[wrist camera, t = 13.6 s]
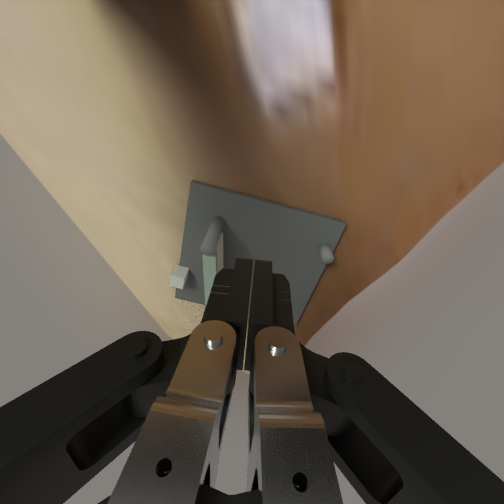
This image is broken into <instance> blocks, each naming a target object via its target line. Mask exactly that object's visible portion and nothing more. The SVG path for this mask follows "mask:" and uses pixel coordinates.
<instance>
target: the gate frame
mask: <svg viewBox="0 0 504 504" xmlns="http://www.w3.org/2000/svg"><path fill="white" fill-rule="evenodd" d="M346 225H347V223H346V222H345V221H342V220H338V219H335V218H331V217H327V216H324V215H320V214H316V213H313V212H309V211H305V210H302V209H298V208H294V207H291V206H287V205H283V204H280V203H276V202H272V201H269V200H265V199H261V198H257V197H254V196H250V195H246V194H243V193H239V192H235V191H232V190H228V189H224V188H221V187H217V186H213V185H210V184H206V183H202V182H199V181H195V180H192V181H191V186H190V193H189V200H188V207H187V215H186V222H185V229H184V237H183V244H182V251H181V258H180V266H179V265H175V267H174V268H173V270H172V272H171V274H170V279H169V286H171V287H175V288H176V295H175V298H178V299H183V300H187V301H191V302H195V303H200V304H204V305H205V292H204V275H203V259H202V256H203V254H205V255H211V254H213V253H214V250H215V247H216V244H217V242H218V239H219V236H220V233H221V232H223V264H224V268H226V269H234V267H235V262H236V258H246V259H253V269H252V279H251V289H250V299H249V309H248V315H250V304H251V294H252V284H253V274H254V264H255V259H256V260H266V261H272V273H276V274H284V275H285V277H286V278H287V280H288V281H289V283H290V294H291V303H292V313H293V323H294V326H296V324H297V322H298V320H299V318H300V316H301V314H302V312H303V310H304V308H305V306H306V304H307V302H308V300H309V298H310V296H311V294H312V292H313V290H314V288H315V286H316V284H317V282H318V281H319V279H320V277H321V275H322V273H323V271H324V269H325V267H326V265H327V264H330V263H332V262H333V261H334V256H333V251H334V249H335V247H336V245H337V243H338V241H339V239H340V237H341V235H342V233H343V231H344V229H345V227H346Z"/></svg>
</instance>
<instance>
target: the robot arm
mask: <svg viewBox="0 0 504 504" xmlns="http://www.w3.org/2000/svg"><path fill="white" fill-rule="evenodd" d="M252 269H253V259H246V258H236V262H235V267H234V269H226V268H222V269H221V270H220V271H219V272H218V273H217V274H216V275H215V278H214V281H213V286H212V288H211V291H210V295H209V298H208V301H207V305H206V308H205V311H204V315H203V318H202V321H201V324H199V325H198V326H197V327H195V329H194V330H193V331H192V333H191V334H190V335H188V336H186V337H183V338H179V339H174V340H169V341H163V342H162V341H161V339H160V338H159V336H157V335H156V334H154V333H152V332H149V331H137V332H133V333H130V334H128V335H126V336H124V337H122V338H121V339H119V340H117V341H115V342H113V343H112V344H110V345H108V346H106V347H105V348H103V349H101V350H99V351H98V352H96V353H94V354H92V355H91V356H89V357H87V358H85V359H84V360H82V361H80V362H78V363H77V364H75V365H73V366H72V367H70V368H68V369H66V370H64V371H63V372H61V373H60V374H58V375H56V376H54V377H52V378H51V379H49V380H47V381H45V382H44V383H42V384H40V385H38V386H37V387H35V388H33V389H32V390H30V391H28V392H26V393H24V394H23V395H21V396H19V397H17V398H16V399H14V400H12V401H10V402H9V403H7V404H5V405H3V406H2V407H0V504H63V503H64V502H65V501H67V500H68V499H69V498H70V497H71V496H72V495H74V494H75V493H76V492H77V491H78V490H79V489H80V488H82V487H83V486H84V485H85V484H86V483H87V482H89V481H90V480H91V479H92V478H93V477H94V476H95V475H97V474H98V473H99V472H100V471H101V470H102V469H103V468H104V467H106V466H107V465H108V464H109V463H110V462H112V461H113V460H114V459H115V458H116V457H117V456H118V455H120V454H121V453H122V452H123V451H124V450H125V449H127V448H128V447H129V446H130V445H131V444H132V443H134V442H135V441H136V442H135V444H134V446H133V448H132V450H131V453H130V455H129V457H128V459H127V461H126V464H125V466H124V468H123V470H122V473H121V475H120V477H119V479H118V482H117V484H116V486H115V488H114V490H113V492H112V495H111V496H109V497H107V498H106V499H104V500H103V501H101V502H100V503H98V504H343V502H342V497H341V492H340V488H339V484H338V479H337V475H336V471H335V466H334V463H335V464H336V465H337V467H338V468H339V469H340V471H341V472H342V473H343V474H344V476H345V477H346V478H347V480H348V481H349V482H350V484H351V485H352V486H353V488H355V490H356V491H357V493H358V494H359V495H360V497H361V498H362V499H363V500H364V502H365V503H366V504H504V482H503V481H502V480H501V479H500V478H499V477H497V476H496V475H495V474H494V473H493V472H492V471H490V470H489V469H488V468H487V467H486V466H485V465H484V464H483V463H481V462H480V461H479V460H478V459H477V458H476V457H475V456H473V455H472V454H471V453H470V452H469V451H468V450H466V448H464V447H463V446H462V445H461V444H460V443H458V441H456V440H455V439H454V438H453V437H452V436H451V435H450V434H448V433H447V432H446V431H445V430H444V429H443V428H442V427H440V426H439V425H438V424H437V423H436V422H435V421H434V420H432V419H431V418H430V417H429V416H428V415H427V414H426V413H424V412H423V411H422V410H421V409H420V408H419V407H418V406H416V405H415V404H414V403H413V402H412V401H411V400H410V399H409V398H407V397H406V396H405V395H404V394H403V393H402V392H401V391H399V390H398V389H397V388H396V387H395V386H394V385H393V384H391V383H390V382H389V381H388V380H387V379H386V378H384V377H383V376H382V375H381V374H380V373H379V372H378V371H377V370H375V369H374V368H373V367H372V366H371V365H370V364H368V363H367V362H366V361H365V360H364V359H362V358H361V357H359V356H357V355H354V354H351V353H345V352H342V353H337V354H334V355H333V356H331V357H330V359H329V358H326V357H324V356H321V355H319V354H316V353H314V352H312V351H310V350H308V349H307V348H305V347H304V346H303V345H302V344H301V343H300V342H299V340H298V339H297V337H296V335H295V332H294V323H293V313H292V303H291V294H290V283H289V281H288V280H287V278H286V277H285V275H284V274H276V273H272V261H266V260H256V259H255V264H254V274H253V284H252V294H251V304H250V315H249V325H248V336H247V347H246V358H245V368H244V370H248V371H250V380H249V389H248V468H247V469H248V470H247V492H244V493H240V494H236V495H227V494H225V493H223V492H221V491H219V490H216V489H214V487H215V481H216V476H217V470H218V462H219V456H220V451H221V446H222V440H223V436H224V430H225V426H226V421H227V416H228V411H229V406H230V401H231V397H232V391H233V388H234V385H235V379H236V371H237V370H242V369H243V359H244V349H245V339H246V329H247V319H248V309H249V299H250V289H251V279H252ZM333 461H334V462H333Z"/></svg>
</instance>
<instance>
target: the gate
mask: <svg viewBox="0 0 504 504" xmlns="http://www.w3.org/2000/svg"><path fill="white" fill-rule="evenodd" d="M202 259H203V275H204V292H205V308H206V305H207V301H208V298H209V295H210V291H211V288H212V286H213V281H214V278H215V275H216V274H217V273H218V272H219V271H220V270H221V269H222V268H224V264H223V232H221V233H220V236H219V239H218V242H217V244H216V247H215V250H214V253H213V254H211V255H205V254H203V256H202Z"/></svg>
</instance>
